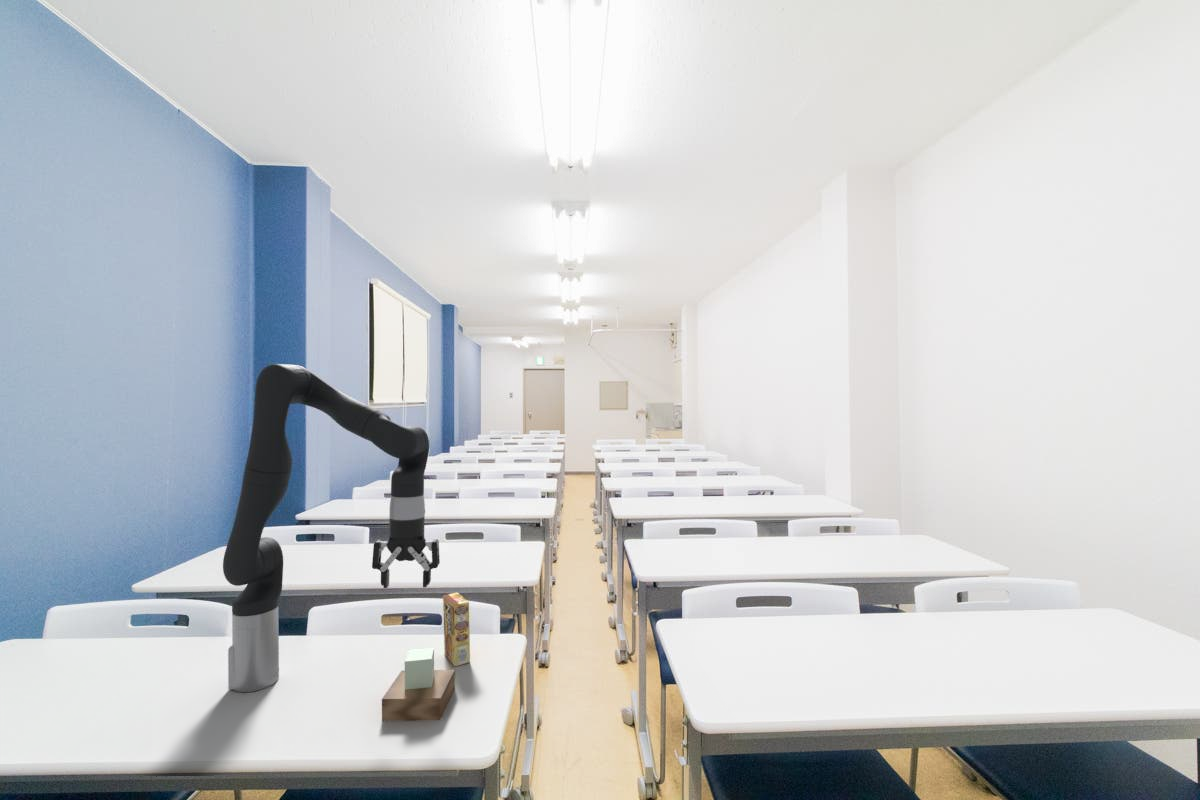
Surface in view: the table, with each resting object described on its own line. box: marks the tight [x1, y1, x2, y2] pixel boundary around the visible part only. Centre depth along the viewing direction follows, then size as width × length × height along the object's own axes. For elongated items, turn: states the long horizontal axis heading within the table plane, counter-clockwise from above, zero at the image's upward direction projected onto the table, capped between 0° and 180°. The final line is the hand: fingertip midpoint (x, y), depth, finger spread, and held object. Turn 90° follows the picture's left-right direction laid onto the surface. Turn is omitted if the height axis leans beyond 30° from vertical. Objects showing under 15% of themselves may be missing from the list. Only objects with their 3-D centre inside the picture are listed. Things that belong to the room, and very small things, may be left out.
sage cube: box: [404, 647, 435, 690], centre depth 121 cm, size 6×6×6 cm
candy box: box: [442, 592, 471, 667], centre depth 142 cm, size 9×4×15 cm, turn 33°
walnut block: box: [381, 669, 456, 722], centre depth 121 cm, size 12×12×5 cm
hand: (406, 586), depth 126 cm, fingers open, 8 cm apart
